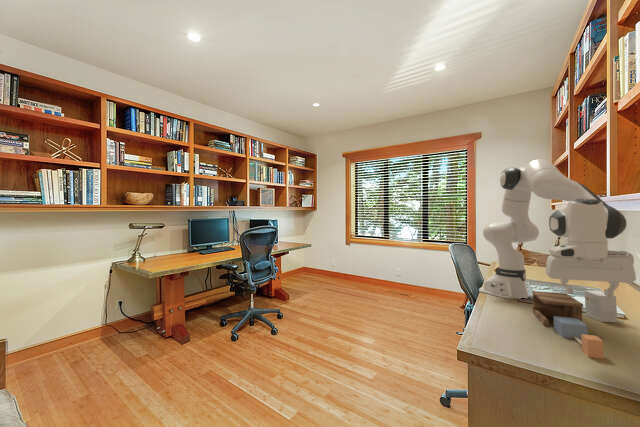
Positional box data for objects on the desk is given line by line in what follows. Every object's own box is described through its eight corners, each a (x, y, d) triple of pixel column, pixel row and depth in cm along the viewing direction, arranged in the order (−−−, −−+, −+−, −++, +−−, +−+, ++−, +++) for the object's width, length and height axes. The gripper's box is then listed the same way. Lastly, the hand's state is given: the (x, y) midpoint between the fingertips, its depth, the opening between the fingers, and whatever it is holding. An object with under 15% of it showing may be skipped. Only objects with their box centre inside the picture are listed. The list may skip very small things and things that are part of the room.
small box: (617, 323, 104) (616, 296, 104) (600, 322, 105) (599, 295, 105) (600, 315, 112) (599, 290, 112) (585, 314, 113) (584, 290, 113)
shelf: (533, 313, 116) (532, 291, 116) (566, 317, 111) (566, 293, 111) (545, 327, 103) (544, 301, 103) (584, 331, 98) (583, 304, 98)
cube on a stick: (554, 329, 101) (553, 314, 101) (578, 331, 98) (577, 316, 98) (580, 355, 82) (579, 338, 82) (611, 360, 79) (610, 341, 79)
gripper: (626, 249, 82) (627, 294, 82) (543, 248, 90) (544, 289, 90) (640, 252, 76) (642, 301, 76) (550, 251, 84) (551, 294, 84)
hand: (588, 294), depth 83 cm, fingers open, 8 cm apart
